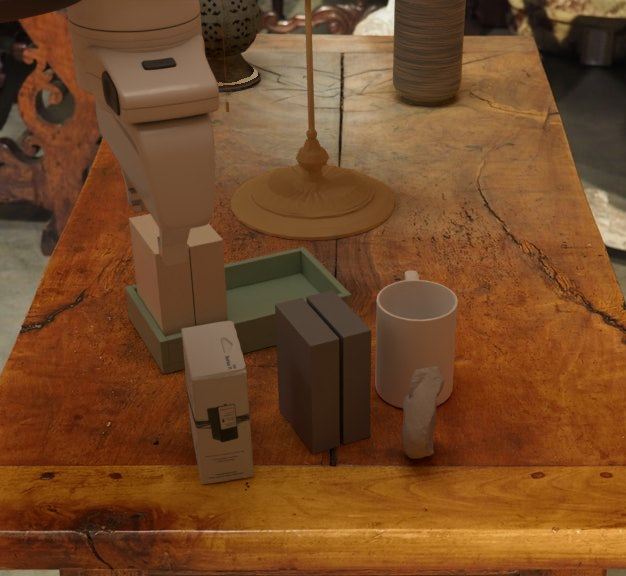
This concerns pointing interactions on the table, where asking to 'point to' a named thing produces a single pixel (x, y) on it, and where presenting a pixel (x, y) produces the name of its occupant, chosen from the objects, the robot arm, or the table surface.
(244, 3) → the lantern
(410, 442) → the fossil
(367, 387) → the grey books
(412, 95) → the vase
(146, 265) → the cream books
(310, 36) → the desk lamp
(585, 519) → the table surface
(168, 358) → the book trough
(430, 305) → the mug
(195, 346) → the ink box
